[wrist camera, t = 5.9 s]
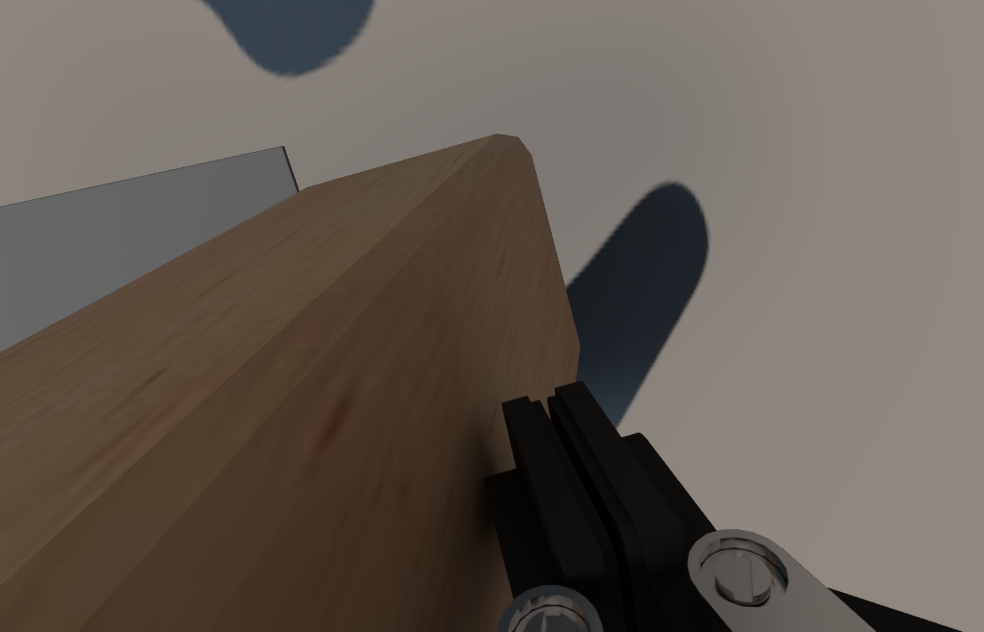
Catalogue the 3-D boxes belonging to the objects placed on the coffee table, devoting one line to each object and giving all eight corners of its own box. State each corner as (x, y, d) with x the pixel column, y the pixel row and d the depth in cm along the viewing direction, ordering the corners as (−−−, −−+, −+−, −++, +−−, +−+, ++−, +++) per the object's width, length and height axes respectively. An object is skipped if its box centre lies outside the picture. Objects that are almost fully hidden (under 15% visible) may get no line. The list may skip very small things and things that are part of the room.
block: (528, 121, 19) (-324, 1040, 2) (587, 353, 23) (482, 1291, 6) (300, 186, 22) (-772, 745, 5) (388, 379, 26) (-43, 1040, 9)
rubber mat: (-271, 264, 20) (-286, 268, 19) (283, 145, 21) (281, 146, 21) (-69, 505, 24) (-78, 513, 24) (367, 391, 26) (367, 397, 26)
